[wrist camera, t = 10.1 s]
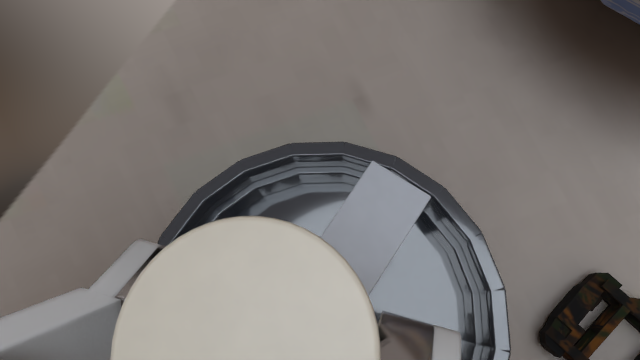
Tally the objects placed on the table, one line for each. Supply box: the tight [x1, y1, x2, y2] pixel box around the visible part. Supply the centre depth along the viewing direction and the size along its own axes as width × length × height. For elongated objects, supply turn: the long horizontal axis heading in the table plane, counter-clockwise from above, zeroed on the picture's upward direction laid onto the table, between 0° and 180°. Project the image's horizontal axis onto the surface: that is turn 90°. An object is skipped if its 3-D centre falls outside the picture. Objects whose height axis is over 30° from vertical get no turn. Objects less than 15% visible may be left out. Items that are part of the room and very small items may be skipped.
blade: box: [110, 161, 431, 360], centre depth 10 cm, size 10×4×8 cm, turn 146°
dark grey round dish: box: [157, 142, 511, 360], centre depth 21 cm, size 14×14×4 cm
